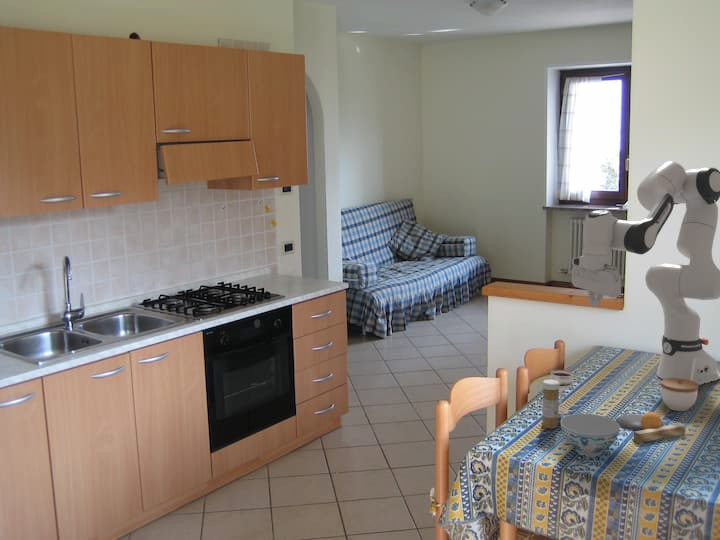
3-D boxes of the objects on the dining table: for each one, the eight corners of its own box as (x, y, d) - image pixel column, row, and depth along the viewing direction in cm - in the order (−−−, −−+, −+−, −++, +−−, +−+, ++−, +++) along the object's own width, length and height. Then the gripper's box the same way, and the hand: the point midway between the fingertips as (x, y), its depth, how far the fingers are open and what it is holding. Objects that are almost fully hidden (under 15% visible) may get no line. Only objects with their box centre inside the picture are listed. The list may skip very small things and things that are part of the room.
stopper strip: (679, 431, 217) (680, 423, 217) (684, 434, 215) (685, 425, 215) (633, 440, 212) (634, 431, 211) (638, 442, 210) (639, 434, 209)
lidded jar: (700, 414, 230) (702, 384, 229) (662, 412, 232) (664, 382, 231) (692, 402, 241) (694, 373, 239) (656, 400, 243) (658, 371, 241)
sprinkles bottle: (550, 422, 225) (552, 377, 223) (561, 427, 221) (563, 382, 219) (538, 424, 223) (539, 380, 221) (548, 430, 219) (550, 384, 217)
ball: (655, 406, 219) (667, 419, 214) (651, 420, 222) (663, 433, 217) (638, 410, 217) (650, 423, 213) (635, 424, 220) (646, 438, 216)
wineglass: (575, 410, 234) (577, 372, 232) (564, 416, 229) (566, 378, 227) (555, 405, 239) (557, 368, 237) (544, 411, 234) (545, 373, 232)
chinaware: (606, 439, 212) (608, 413, 211) (627, 462, 197) (628, 434, 196) (552, 441, 212) (553, 414, 210) (569, 464, 197) (570, 435, 196)
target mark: (641, 412, 232) (641, 412, 232) (673, 427, 220) (673, 427, 220) (605, 418, 228) (605, 418, 227) (636, 434, 216) (636, 433, 216)
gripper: (627, 266, 234) (625, 311, 237) (585, 257, 253) (583, 298, 255) (610, 268, 232) (608, 313, 234) (568, 258, 251) (567, 300, 253)
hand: (594, 305), depth 245 cm, fingers closed
